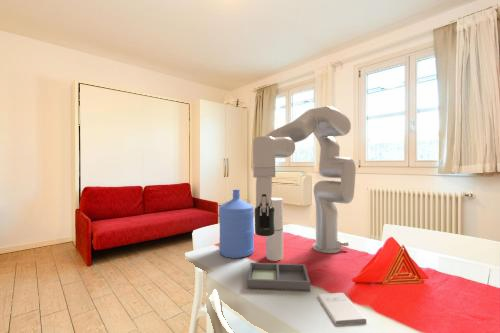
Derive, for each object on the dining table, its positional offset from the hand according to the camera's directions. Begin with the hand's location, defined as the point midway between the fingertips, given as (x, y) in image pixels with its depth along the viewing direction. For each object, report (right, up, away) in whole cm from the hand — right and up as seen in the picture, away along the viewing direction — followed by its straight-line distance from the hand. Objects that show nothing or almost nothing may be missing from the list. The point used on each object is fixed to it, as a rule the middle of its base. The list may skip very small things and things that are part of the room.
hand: (264, 224), depth 84 cm
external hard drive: (+20, -21, -16) cm, 33 cm away
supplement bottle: (0, -3, 0) cm, 3 cm away
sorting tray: (+5, -19, 0) cm, 20 cm away
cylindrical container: (+5, -19, +20) cm, 28 cm away
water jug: (-11, -19, +26) cm, 34 cm away
